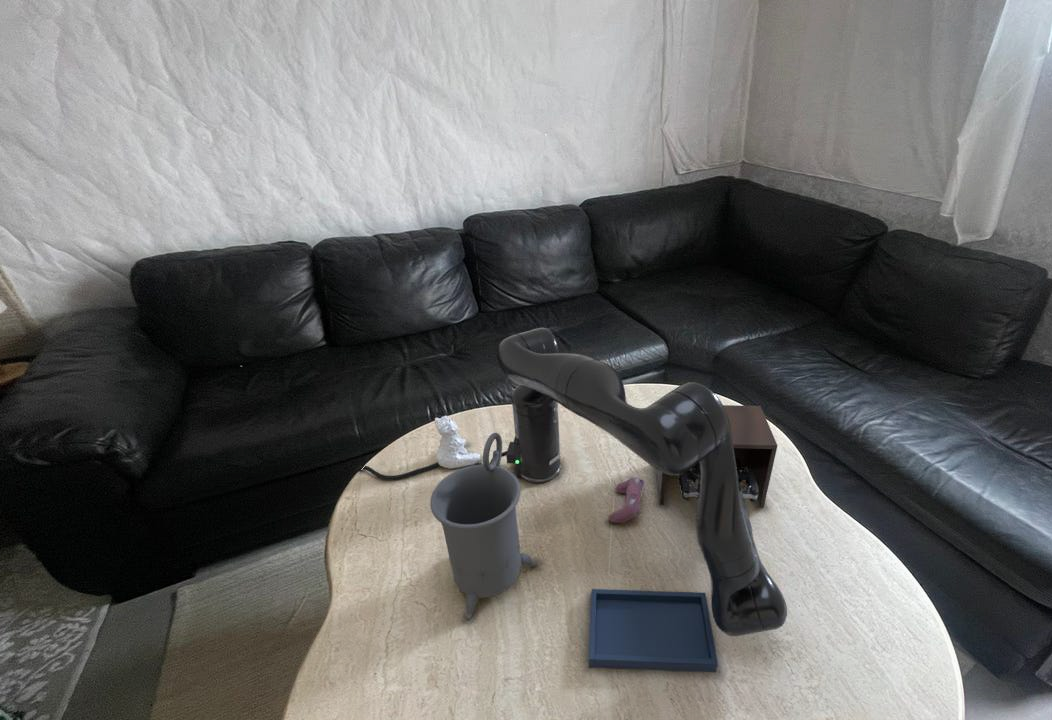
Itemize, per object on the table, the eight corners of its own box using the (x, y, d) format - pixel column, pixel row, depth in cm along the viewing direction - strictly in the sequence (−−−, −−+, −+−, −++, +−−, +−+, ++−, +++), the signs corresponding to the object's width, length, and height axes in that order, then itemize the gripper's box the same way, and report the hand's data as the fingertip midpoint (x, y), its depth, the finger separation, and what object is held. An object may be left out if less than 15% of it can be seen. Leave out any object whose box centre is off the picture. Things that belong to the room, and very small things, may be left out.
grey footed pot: (511, 631, 80) (495, 516, 68) (425, 611, 83) (396, 497, 71) (548, 538, 96) (541, 431, 84) (475, 524, 99) (458, 419, 87)
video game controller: (627, 532, 99) (644, 511, 96) (606, 522, 99) (623, 500, 95) (633, 496, 108) (650, 476, 104) (614, 486, 107) (630, 465, 104)
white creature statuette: (484, 463, 115) (478, 419, 109) (448, 480, 110) (440, 435, 104) (463, 442, 121) (457, 400, 115) (429, 458, 116) (420, 414, 110)
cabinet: (659, 505, 103) (664, 442, 96) (655, 462, 115) (659, 403, 107) (763, 508, 103) (777, 445, 95) (749, 465, 114) (760, 405, 106)
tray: (588, 667, 75) (588, 659, 74) (591, 597, 85) (591, 588, 84) (716, 672, 75) (717, 664, 74) (704, 600, 85) (705, 592, 84)
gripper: (771, 506, 87) (750, 445, 102) (687, 503, 88) (677, 443, 102) (764, 536, 91) (744, 474, 105) (683, 534, 92) (674, 472, 106)
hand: (711, 459), depth 104 cm, fingers open, 8 cm apart
